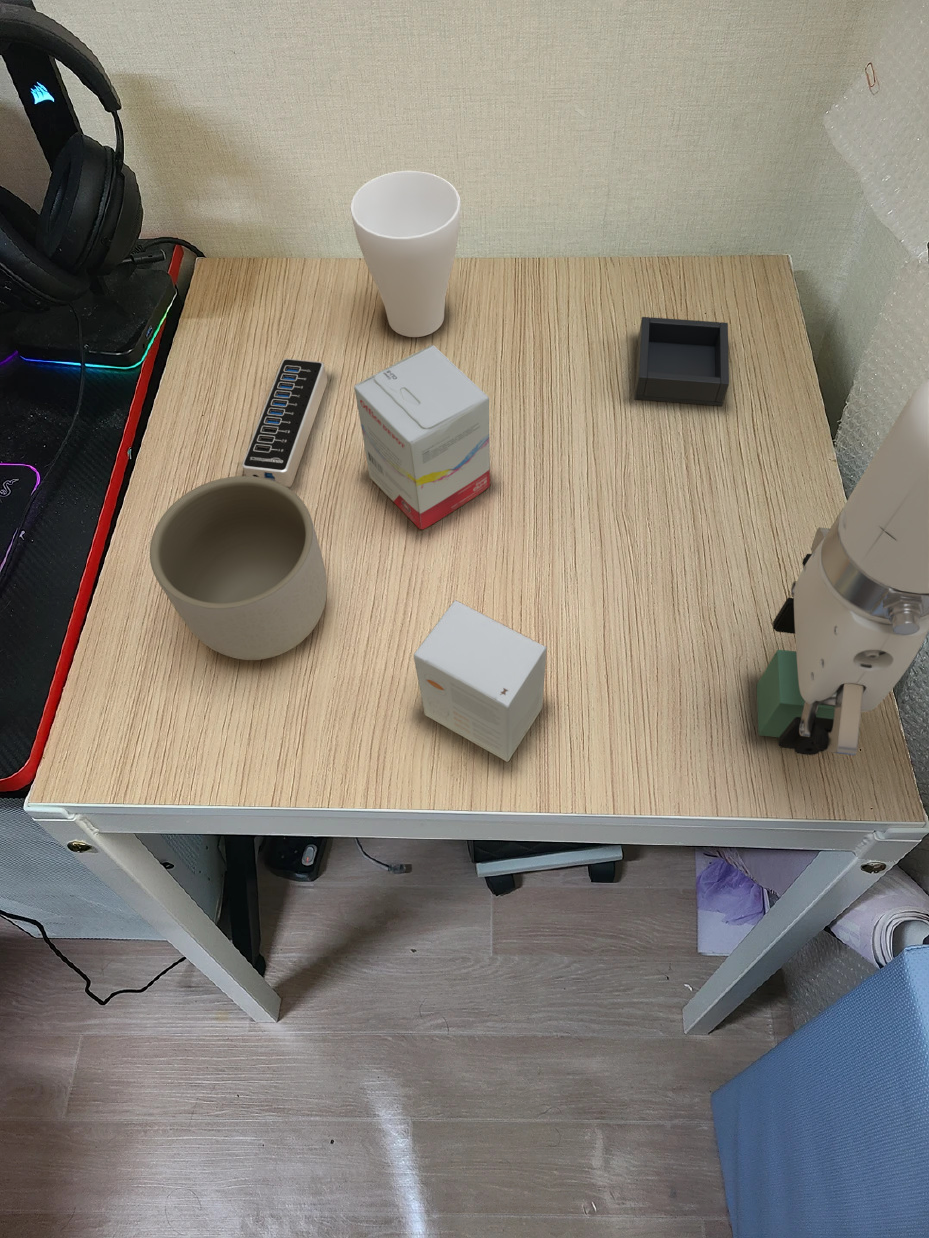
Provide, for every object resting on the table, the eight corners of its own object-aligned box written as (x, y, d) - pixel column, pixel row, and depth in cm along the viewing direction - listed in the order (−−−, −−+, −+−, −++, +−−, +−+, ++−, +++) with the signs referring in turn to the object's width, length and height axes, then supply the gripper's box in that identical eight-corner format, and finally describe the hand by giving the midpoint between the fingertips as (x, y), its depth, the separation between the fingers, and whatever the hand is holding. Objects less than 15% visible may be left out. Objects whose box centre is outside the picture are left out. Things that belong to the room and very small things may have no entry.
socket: (721, 345, 90) (728, 322, 88) (722, 406, 86) (729, 384, 83) (637, 339, 91) (642, 316, 88) (634, 399, 87) (638, 377, 84)
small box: (543, 709, 70) (550, 646, 61) (507, 765, 68) (509, 708, 59) (459, 662, 72) (454, 596, 63) (422, 715, 70) (411, 653, 61)
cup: (381, 281, 97) (365, 165, 85) (473, 291, 96) (470, 175, 84) (356, 346, 92) (336, 233, 80) (453, 358, 90) (448, 244, 79)
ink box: (493, 487, 82) (493, 395, 71) (419, 533, 79) (408, 445, 69) (439, 433, 85) (431, 338, 75) (366, 476, 83) (349, 384, 73)
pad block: (813, 690, 70) (838, 655, 65) (817, 742, 68) (843, 710, 63) (756, 684, 71) (777, 649, 65) (758, 735, 68) (779, 703, 63)
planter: (340, 665, 73) (317, 596, 63) (190, 686, 72) (145, 619, 63) (331, 545, 79) (309, 466, 69) (193, 563, 78) (152, 485, 69)
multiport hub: (328, 378, 89) (324, 361, 87) (291, 488, 82) (286, 472, 80) (287, 374, 90) (282, 357, 88) (246, 483, 83) (240, 467, 81)
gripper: (982, 699, 46) (857, 803, 61) (938, 450, 54) (838, 594, 69) (837, 681, 46) (747, 789, 61) (816, 437, 55) (742, 583, 70)
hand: (795, 685), depth 65 cm, fingers open, 9 cm apart
